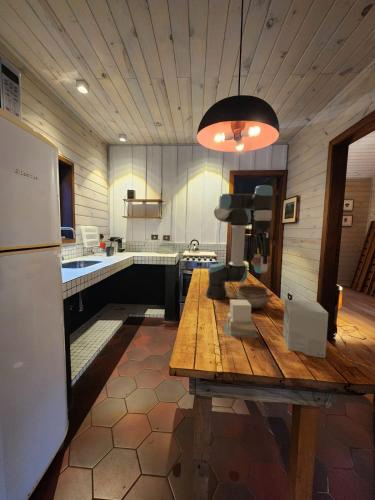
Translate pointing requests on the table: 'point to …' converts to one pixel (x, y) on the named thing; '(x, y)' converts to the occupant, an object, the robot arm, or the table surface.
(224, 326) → the slate board
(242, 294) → the cooking pot
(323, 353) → the supplement box
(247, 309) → the cream block
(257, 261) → the cupcake
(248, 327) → the maple base block
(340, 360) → the table surface
